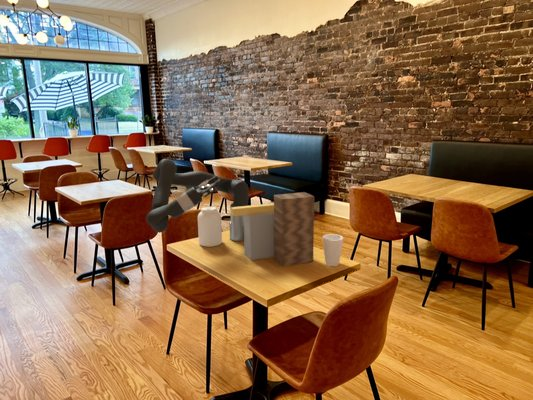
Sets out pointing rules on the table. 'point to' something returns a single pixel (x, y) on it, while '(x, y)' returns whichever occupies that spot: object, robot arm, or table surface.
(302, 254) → the stand
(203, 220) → the white jar
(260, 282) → the table surface
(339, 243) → the foam cup
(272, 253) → the block
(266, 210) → the rail
